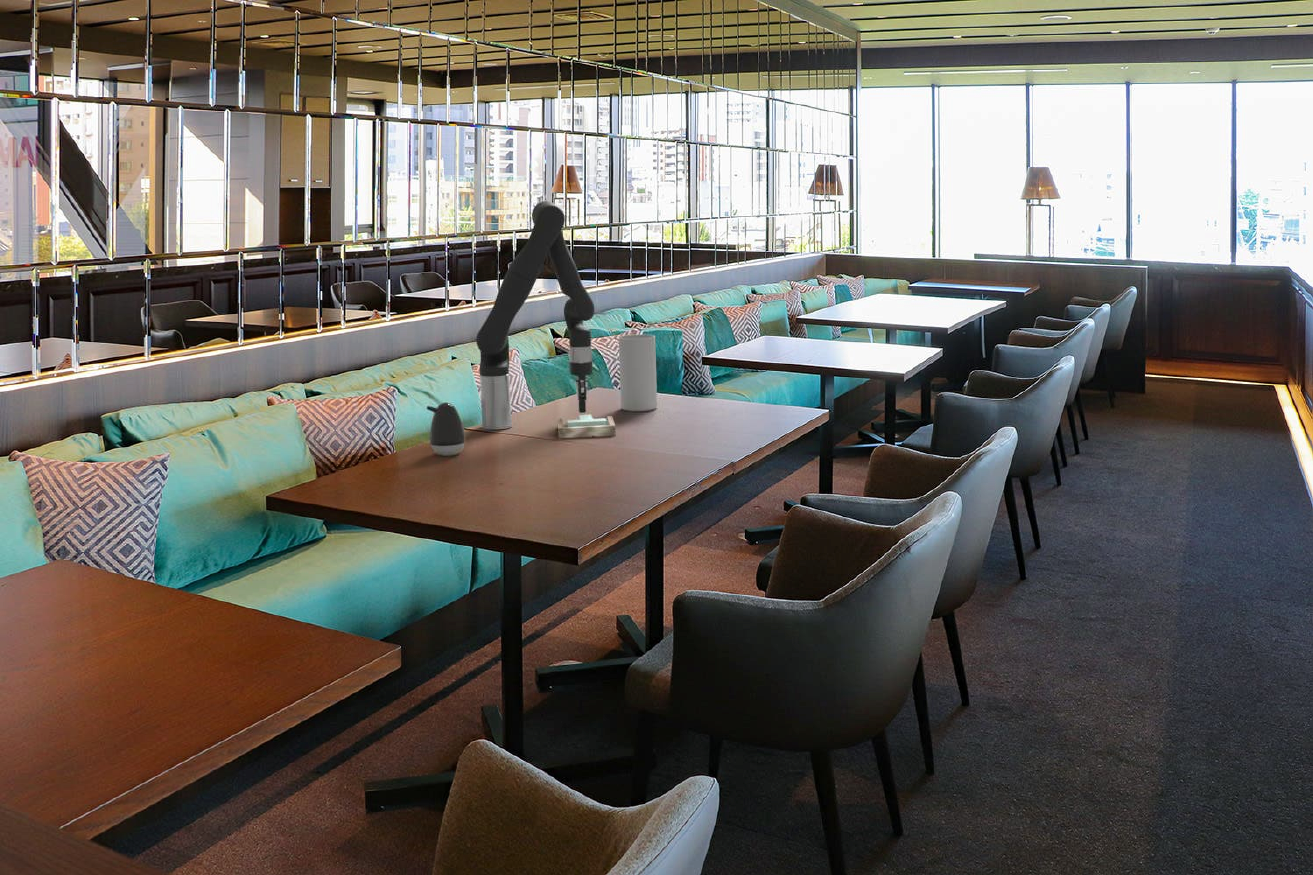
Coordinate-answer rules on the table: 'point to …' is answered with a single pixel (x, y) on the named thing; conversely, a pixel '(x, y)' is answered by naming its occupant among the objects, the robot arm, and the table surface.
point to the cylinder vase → (637, 372)
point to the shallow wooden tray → (587, 430)
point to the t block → (586, 421)
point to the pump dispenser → (446, 430)
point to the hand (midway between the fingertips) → (582, 412)
